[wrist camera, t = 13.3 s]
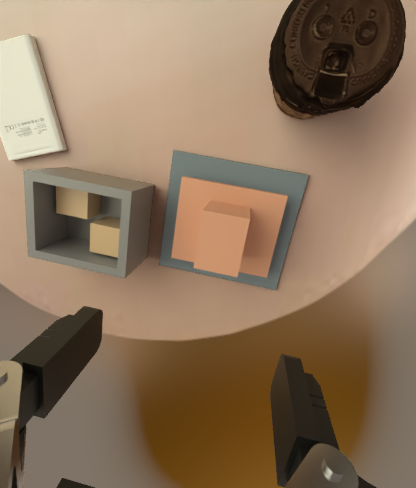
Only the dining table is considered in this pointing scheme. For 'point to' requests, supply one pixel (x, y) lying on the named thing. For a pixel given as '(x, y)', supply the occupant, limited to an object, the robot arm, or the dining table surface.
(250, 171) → the mat
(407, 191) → the dining table surface
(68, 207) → the storage box
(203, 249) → the lid
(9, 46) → the external hard drive
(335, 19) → the coffee cup
